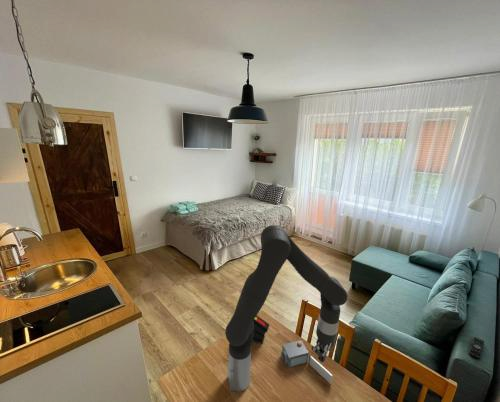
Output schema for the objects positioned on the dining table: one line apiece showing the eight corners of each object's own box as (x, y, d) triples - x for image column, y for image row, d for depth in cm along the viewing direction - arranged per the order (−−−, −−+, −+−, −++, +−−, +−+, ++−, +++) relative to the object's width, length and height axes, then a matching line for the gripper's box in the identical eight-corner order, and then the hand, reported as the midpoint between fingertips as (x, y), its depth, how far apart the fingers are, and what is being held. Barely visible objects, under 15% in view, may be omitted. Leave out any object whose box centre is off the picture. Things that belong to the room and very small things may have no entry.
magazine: (239, 328, 122) (251, 311, 116) (260, 343, 119) (273, 326, 114) (236, 333, 118) (249, 316, 113) (257, 349, 116) (271, 332, 110)
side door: (331, 382, 97) (333, 374, 96) (330, 384, 96) (331, 376, 95) (309, 361, 106) (310, 353, 105) (307, 363, 105) (308, 355, 104)
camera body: (285, 369, 102) (286, 357, 101) (279, 354, 109) (279, 344, 107) (307, 362, 106) (308, 351, 104) (300, 349, 112) (301, 338, 110)
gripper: (323, 341, 81) (317, 376, 85) (346, 326, 88) (339, 359, 92) (308, 326, 87) (303, 360, 92) (330, 313, 94) (324, 345, 98)
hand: (321, 359), depth 92 cm, fingers closed
